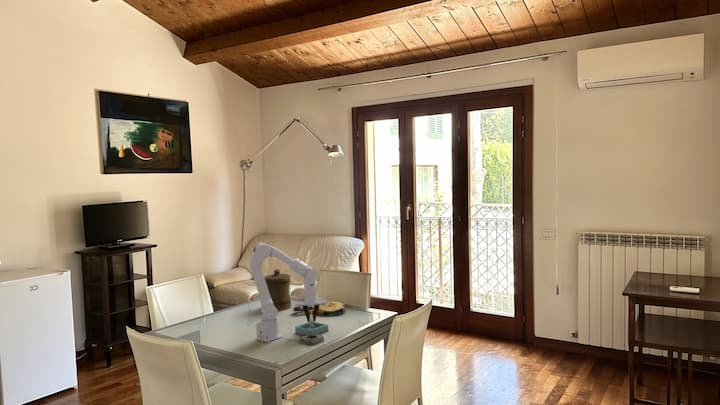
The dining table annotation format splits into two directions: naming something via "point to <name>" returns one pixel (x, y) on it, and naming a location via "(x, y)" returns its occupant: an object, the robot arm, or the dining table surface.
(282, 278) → the wooden container
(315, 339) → the pin bracket
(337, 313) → the pulley block
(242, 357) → the dining table surface
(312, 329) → the tray
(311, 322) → the pin
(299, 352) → the dining table surface
